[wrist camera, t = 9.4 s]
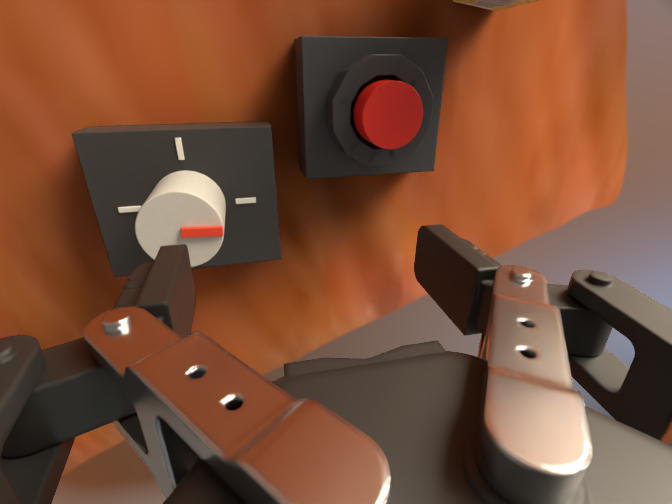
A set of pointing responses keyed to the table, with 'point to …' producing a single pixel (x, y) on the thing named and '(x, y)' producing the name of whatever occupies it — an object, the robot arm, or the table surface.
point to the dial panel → (179, 155)
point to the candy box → (494, 3)
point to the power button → (388, 113)
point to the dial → (183, 216)
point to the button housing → (341, 94)
